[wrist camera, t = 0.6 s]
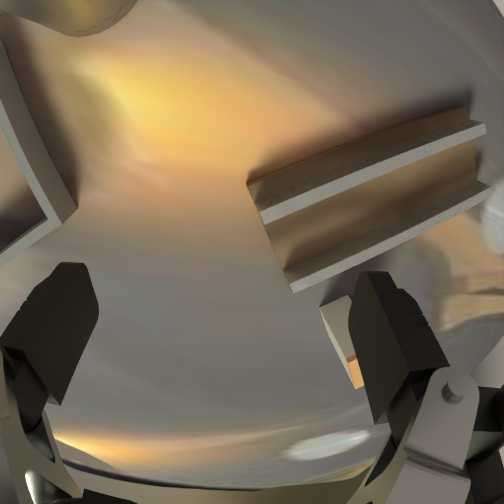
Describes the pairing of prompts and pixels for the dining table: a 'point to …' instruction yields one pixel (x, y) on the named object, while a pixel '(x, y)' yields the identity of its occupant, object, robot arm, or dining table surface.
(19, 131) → the large tray rim
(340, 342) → the block
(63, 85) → the dining table surface
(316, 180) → the rail board
